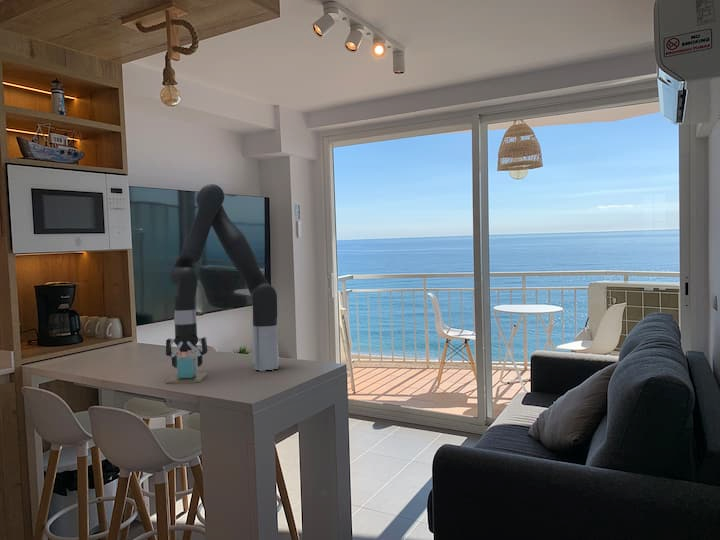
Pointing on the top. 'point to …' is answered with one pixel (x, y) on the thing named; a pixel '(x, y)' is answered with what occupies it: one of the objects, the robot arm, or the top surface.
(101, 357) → the top surface
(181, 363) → the turquoise rectangular block
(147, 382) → the top surface
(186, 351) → the grandmother figurine
